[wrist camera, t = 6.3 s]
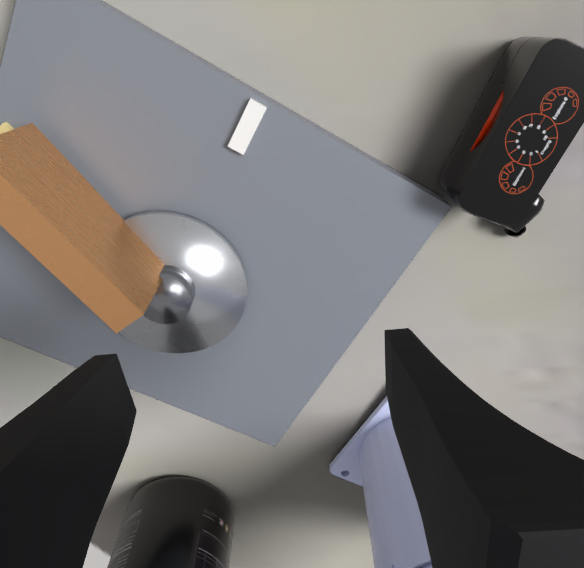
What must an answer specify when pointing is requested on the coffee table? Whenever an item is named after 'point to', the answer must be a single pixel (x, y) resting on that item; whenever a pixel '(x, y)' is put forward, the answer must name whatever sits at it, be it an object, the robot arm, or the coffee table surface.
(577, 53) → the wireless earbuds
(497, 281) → the coffee table surface
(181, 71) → the board
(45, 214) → the orange block with disc
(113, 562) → the supplement bottle
